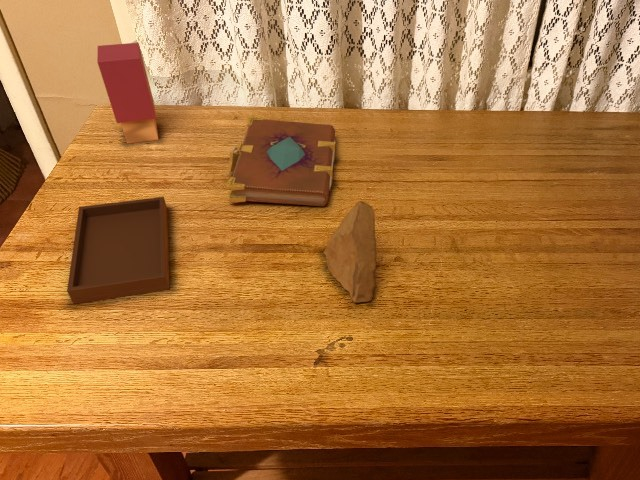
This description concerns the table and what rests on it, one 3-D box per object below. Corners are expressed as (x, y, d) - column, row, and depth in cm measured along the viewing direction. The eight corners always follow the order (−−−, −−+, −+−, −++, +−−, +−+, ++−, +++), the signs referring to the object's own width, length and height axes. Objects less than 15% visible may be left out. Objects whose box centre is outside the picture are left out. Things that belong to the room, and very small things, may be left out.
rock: (393, 298, 72) (404, 239, 78) (349, 256, 67) (365, 196, 73) (327, 320, 78) (342, 263, 84) (282, 282, 72) (302, 224, 78)
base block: (126, 143, 98) (120, 121, 95) (126, 129, 101) (119, 107, 98) (158, 139, 99) (152, 117, 96) (156, 125, 102) (151, 103, 100)
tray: (84, 219, 83) (78, 206, 82) (167, 209, 86) (163, 196, 84) (73, 304, 72) (66, 290, 70) (169, 289, 74) (165, 276, 73)
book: (338, 131, 106) (338, 105, 102) (329, 214, 88) (330, 186, 85) (245, 123, 104) (242, 96, 101) (217, 206, 87) (213, 177, 83)
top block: (116, 123, 94) (97, 61, 87) (116, 106, 98) (97, 45, 91) (156, 119, 96) (140, 57, 89) (154, 102, 100) (138, 42, 93)
